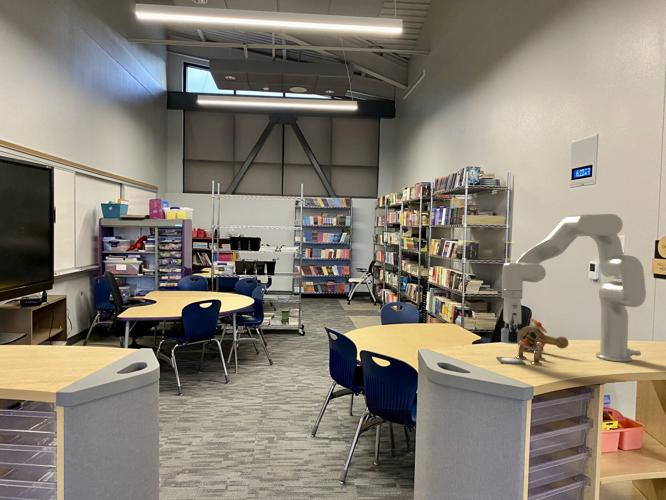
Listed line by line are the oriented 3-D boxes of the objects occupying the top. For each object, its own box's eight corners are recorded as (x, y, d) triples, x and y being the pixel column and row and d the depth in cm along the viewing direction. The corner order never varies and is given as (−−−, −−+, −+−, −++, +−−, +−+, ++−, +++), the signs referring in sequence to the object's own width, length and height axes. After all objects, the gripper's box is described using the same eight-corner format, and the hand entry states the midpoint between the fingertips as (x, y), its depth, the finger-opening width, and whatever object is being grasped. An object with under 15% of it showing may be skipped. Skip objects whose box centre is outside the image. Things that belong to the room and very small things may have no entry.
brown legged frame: (542, 358, 189) (543, 341, 189) (553, 366, 176) (553, 347, 176) (514, 356, 191) (514, 339, 191) (522, 364, 178) (523, 346, 178)
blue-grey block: (516, 341, 185) (517, 328, 185) (521, 344, 179) (521, 331, 179) (500, 340, 186) (500, 327, 186) (503, 343, 180) (504, 330, 180)
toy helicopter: (525, 347, 210) (525, 316, 210) (572, 356, 194) (573, 323, 194) (515, 349, 205) (515, 318, 205) (562, 358, 189) (563, 325, 189)
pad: (519, 359, 186) (519, 357, 186) (525, 364, 177) (525, 363, 177) (496, 358, 187) (496, 356, 187) (500, 363, 179) (501, 361, 179)
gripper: (528, 297, 173) (526, 345, 173) (516, 293, 190) (515, 337, 190) (506, 296, 174) (505, 344, 174) (497, 292, 191) (496, 336, 191)
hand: (510, 340), depth 182 cm, fingers closed on blue-grey block, 6 cm apart
